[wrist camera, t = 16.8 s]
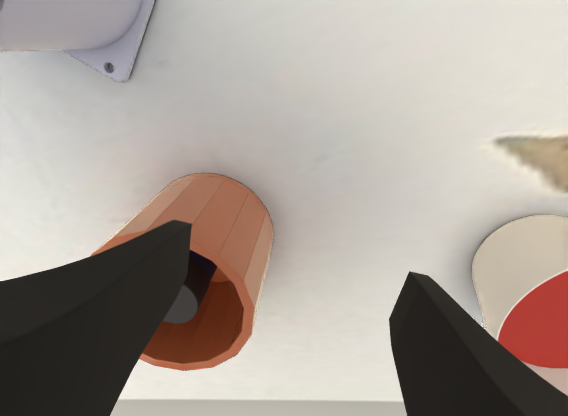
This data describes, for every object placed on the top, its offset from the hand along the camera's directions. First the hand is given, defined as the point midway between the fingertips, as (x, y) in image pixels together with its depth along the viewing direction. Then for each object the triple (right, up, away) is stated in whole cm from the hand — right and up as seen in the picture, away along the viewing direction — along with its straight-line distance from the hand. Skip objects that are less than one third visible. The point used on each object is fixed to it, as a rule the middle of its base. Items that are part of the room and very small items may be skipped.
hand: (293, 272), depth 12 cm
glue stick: (-5, 0, +11) cm, 12 cm away
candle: (+15, -1, +11) cm, 18 cm away
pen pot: (-5, +1, +12) cm, 13 cm away
